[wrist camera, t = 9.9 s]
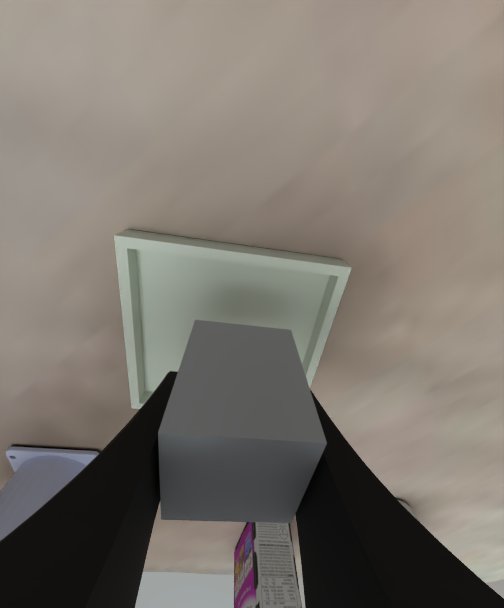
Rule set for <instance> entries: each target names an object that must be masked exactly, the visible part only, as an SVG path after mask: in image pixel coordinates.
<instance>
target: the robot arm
mask: <svg viewBox="0 0 504 608" xmlns="http://www.w3.org/2000/svg"><path fill="white" fill-rule="evenodd" d="M177 373H178V372H176V371H170V372H168V373H167V374H166V376H165V377H164V379H163V380H162V382H161V383H160V384H159V386H158V387H157V389H156V390H155V391H154V392H153V394H152V395H151V396H150V398H149V399H148V400H147V401H146V403H145V404H144V405H143V406H142V407H141V408H140V410H139V411H138V412H137V413H136V414H135V416H134V417H133V418H132V419H131V420H130V421H129V423H128V424H127V425H126V426H125V427H124V428H123V429H122V430H121V431H120V432H119V433H118V434H117V436H116V437H115V438H114V439H113V440H112V441H111V442H110V443H109V444H108V445H107V446H106V447H105V448H104V449H103V450H102V451H101V452H100V453H99V452H97V451H85V450H67V449H48V448H30V447H9V448H8V449H7V450H6V452H5V453H6V455H7V457H8V460H9V462H10V464H11V466H12V468H13V470H14V472H15V473H14V475H13V476H12V477H11V479H10V480H9V481H8V483H7V484H6V485H5V487H4V488H3V489H2V490H1V492H0V608H135V603H136V599H137V595H138V590H139V585H140V581H141V577H142V572H143V568H144V563H145V559H146V555H147V550H148V546H149V542H150V537H151V533H152V529H153V524H154V520H155V517H156V513H157V509H158V506H159V502H160V474H159V446H158V431H159V428H160V425H161V422H162V419H163V416H164V413H165V410H166V407H167V404H168V401H169V398H170V395H171V392H172V389H173V386H174V383H175V379H176V376H177ZM310 391H311V390H310ZM311 395H312V398H313V401H314V404H315V407H316V410H317V413H318V417H319V420H320V423H321V426H322V429H323V432H324V436H325V439H326V442H327V444H326V447H325V449H324V451H323V453H322V455H321V458H320V460H319V462H318V464H317V467H316V469H315V471H314V473H313V475H312V478H311V480H310V482H309V484H308V487H307V489H306V491H305V493H304V496H303V498H302V500H301V502H300V504H299V507H298V509H297V511H296V513H295V514H296V520H297V527H298V536H299V545H300V555H301V564H302V574H303V585H304V595H305V606H306V608H504V599H503V598H502V597H501V596H500V595H499V594H497V593H496V592H495V591H494V590H493V589H491V588H490V587H489V586H488V585H487V584H486V583H484V582H483V581H482V580H481V579H480V578H479V577H478V576H476V575H475V574H474V573H473V572H472V571H471V570H470V569H469V568H468V567H466V566H465V565H464V564H463V563H462V562H461V561H460V560H459V559H458V558H457V557H455V556H454V555H453V554H452V553H451V552H450V551H449V550H448V549H447V548H446V547H445V546H444V545H442V544H441V543H440V542H439V541H438V540H437V539H436V538H435V537H434V536H433V535H432V534H431V533H430V532H429V531H428V530H427V529H426V528H425V527H424V526H423V525H422V524H421V523H420V522H419V521H418V520H417V519H416V518H415V517H414V516H413V515H412V514H411V513H410V512H409V511H408V510H407V509H406V508H405V507H404V506H403V505H402V504H401V503H400V502H399V501H398V500H397V499H396V498H395V497H394V496H393V495H392V494H391V493H390V491H389V490H388V489H387V488H386V487H385V486H384V485H383V484H382V483H381V482H380V480H379V479H378V478H377V477H376V476H375V475H374V474H373V473H372V471H371V470H370V469H369V468H368V467H367V466H366V464H365V463H364V462H363V461H362V459H361V458H360V457H359V456H358V455H357V453H356V452H355V451H354V450H353V448H352V447H351V446H350V444H349V443H348V442H347V441H346V439H345V438H344V437H343V435H342V434H341V433H340V431H339V430H338V428H337V427H336V426H335V424H334V423H333V422H332V420H331V419H330V417H329V416H328V415H327V413H326V412H325V410H324V409H323V407H322V406H321V405H320V403H319V402H318V400H317V399H316V397H315V396H314V394H313V393H312V391H311Z"/></svg>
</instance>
